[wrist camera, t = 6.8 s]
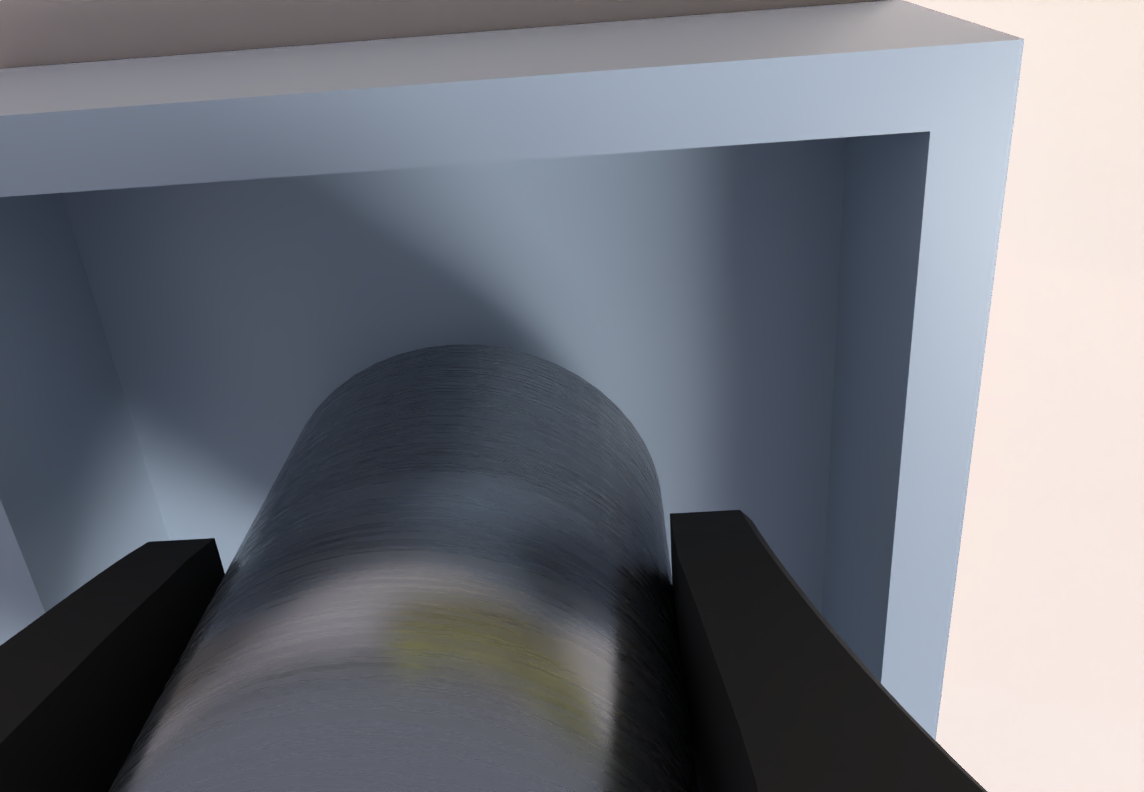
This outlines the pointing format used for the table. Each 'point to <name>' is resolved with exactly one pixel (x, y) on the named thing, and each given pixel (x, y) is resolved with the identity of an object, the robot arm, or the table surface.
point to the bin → (520, 277)
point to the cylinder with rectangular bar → (440, 601)
